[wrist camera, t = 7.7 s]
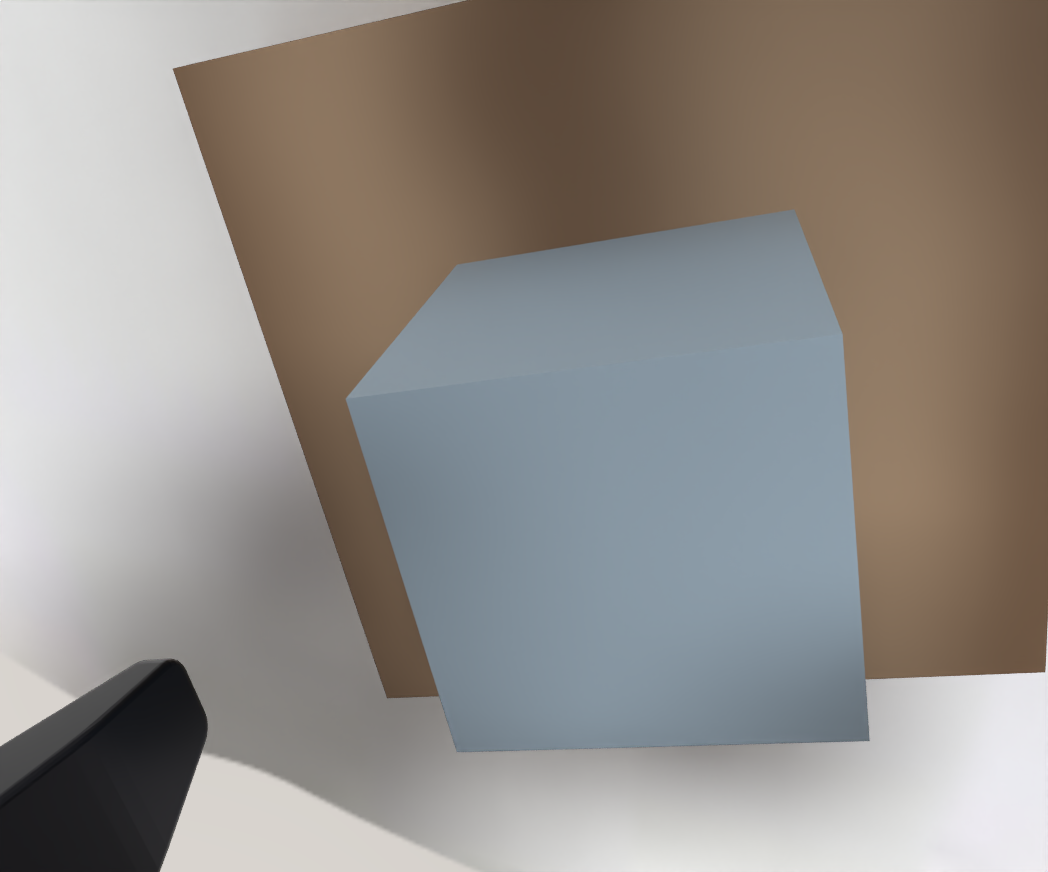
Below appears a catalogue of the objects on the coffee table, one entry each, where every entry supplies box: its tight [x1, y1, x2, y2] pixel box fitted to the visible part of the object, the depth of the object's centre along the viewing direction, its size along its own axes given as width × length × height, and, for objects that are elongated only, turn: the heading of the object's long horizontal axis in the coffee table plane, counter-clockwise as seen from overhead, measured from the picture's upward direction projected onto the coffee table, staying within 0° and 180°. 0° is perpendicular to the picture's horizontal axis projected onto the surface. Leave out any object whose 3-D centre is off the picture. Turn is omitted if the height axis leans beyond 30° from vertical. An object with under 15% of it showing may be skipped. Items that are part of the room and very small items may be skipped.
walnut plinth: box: [173, 0, 1048, 698], centre depth 16 cm, size 12×12×3 cm
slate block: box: [346, 210, 869, 752], centre depth 12 cm, size 5×5×5 cm
